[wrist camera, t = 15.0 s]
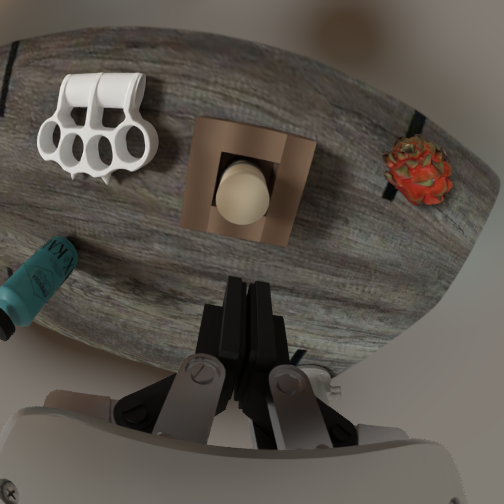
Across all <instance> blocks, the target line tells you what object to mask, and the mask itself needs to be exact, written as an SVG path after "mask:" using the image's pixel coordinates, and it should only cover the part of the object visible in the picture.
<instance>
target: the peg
mask: <svg viewBox="0 0 504 504" xmlns="http://www.w3.org/2000/svg"><path fill="white" fill-rule="evenodd" d="M266 185H267V184H266V178H265V175H264V173H263V171H262V168H261V165H260V164H259V162H258V161H257V160H255V159H254V158H252V157H248V156H237V157H235V158H233V159H232V160H231V161H230V162H229V163H228V164H227V166H226V168H225V171H224V173H223V174H222V177H221V180H220V185H219V188H218V191H217V194H216V205H217V208H218V211H219V212H220V214H221V215H222V216H223V217H224V218H225V219H226V220H228V221H229V222H231V223H234V224H238V225H247V224H251V223H254V222H256V221H258V220H259V219H260V218H261V217H262V216H263V215H264V214H265V213H266V211H267V209H268V206H269V193H268V190H267V186H266Z"/></svg>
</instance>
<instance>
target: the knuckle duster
mask: <svg viewBox="0 0 504 504" xmlns="http://www.w3.org/2000/svg"><path fill="white" fill-rule="evenodd" d="M145 85H146V75H145V74H141V73H90V74H74V75H72V74H69V75H67V76H66V77H65V78H64V80H63V82H62V85H61V88H60V93H59V100H58V106H57V110H56V112H55V113H54V115H53V117H51V118H49V119H47V120H46V121H45V122H44V123H43V124H42V126H41V128H40V130H39V133H38V138H37V145H38V150H39V153H40V155H41V156H42V158H43V159H44V160H45V161H48V160H54V161H56V162H58V163H59V164H60V165H61V167H62V168H63V170H65V171H67V172H69V173H71V176H72V180H73V179H74V178H75V176H76V175H77V174H78V173H80V172H84V173H87V174H90V175H91V176H92V177H94V178H95V177H102V179H103V180H104V181H105V183H106V184H107V186H108V183H109V179H110V176H111V173H112V172H114V171H116V170H117V169H126V170H129V171H131V172H133V171H136V170H138V169H139V168H141V167H143V166H144V165H146V164H148V163H149V162H150V161H151V160H152V159H153V158H154V156H155V155H156V152H157V150H158V144H159V140H158V134H157V132H156V130H155V128H154V127H153V125H152V124H150V123H149V122H148V121H146V120H144V119H143V118H142V116H141V114H140V112H139V108H140V105H141V102H142V99H143V95H144V91H145ZM74 107H88V109H87V116H86V123H85V126H78V125H76V124H75V122H74V120H73V118H72V117H71V111H72V109H73V108H74ZM104 108H122V109H124V113H125V115H126V118H125V120H124V122H122V123H121V124H120V125H118V126H117V128H109V127H104V126H103V124H102V117H103V111H104ZM56 124H58V125H59V127H60V130H61V138H60V141H59V145H58V148H56V147H55V145H54V143H53V132H54V129H55V126H56ZM132 126H136V127H138V128H139V129H140V130H141V131H142V132H143V134H144V139H145V152H144V155H143V156H142V158H135V157H133V156H132V155H130V153H129V152H128V150H127V145H126V134H127V132H128V130H129V129H130V128H131V127H132ZM77 134H78V135H79V136H80V137H81V138H82V140H83V144H84V151H83V154H82V157H81V160H80V162H79V161H77V160H76V159H75V157H74V156H73V152H72V146H73V143H74V140H75V137H76V136H77ZM102 136H105V137H107V138H108V139H109V141H110V143H111V145H112V152H113V160H112V163H111V165H110V166H109V165H106V164H104V163H103V162H102V161H101V159H100V157H99V151H98V143H99V140H100V138H101V137H102Z"/></svg>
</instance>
